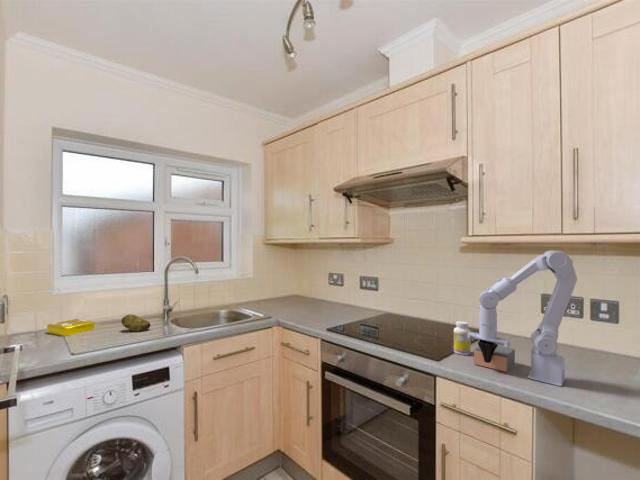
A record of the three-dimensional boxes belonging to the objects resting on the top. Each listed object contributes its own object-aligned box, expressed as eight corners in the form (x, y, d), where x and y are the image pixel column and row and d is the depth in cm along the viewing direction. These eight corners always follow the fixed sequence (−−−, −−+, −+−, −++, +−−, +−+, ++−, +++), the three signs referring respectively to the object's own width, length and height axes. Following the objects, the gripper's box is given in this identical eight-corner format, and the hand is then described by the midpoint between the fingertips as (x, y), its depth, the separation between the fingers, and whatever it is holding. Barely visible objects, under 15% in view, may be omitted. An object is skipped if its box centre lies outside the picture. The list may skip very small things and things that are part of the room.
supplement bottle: (456, 349, 143) (456, 319, 143) (472, 352, 139) (472, 322, 139) (451, 353, 138) (451, 322, 138) (468, 356, 134) (468, 325, 134)
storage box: (514, 364, 125) (514, 349, 125) (507, 371, 118) (507, 355, 118) (483, 357, 133) (484, 342, 133) (475, 363, 126) (475, 348, 126)
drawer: (513, 364, 124) (513, 351, 124) (506, 371, 117) (506, 358, 117) (482, 357, 132) (482, 345, 132) (473, 363, 125) (474, 351, 125)
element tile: (96, 329, 170) (96, 320, 170) (64, 337, 156) (64, 327, 156) (77, 326, 175) (77, 317, 175) (45, 333, 161) (45, 323, 162)
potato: (140, 333, 162) (141, 317, 162) (118, 331, 165) (118, 315, 165) (152, 329, 170) (152, 313, 171) (130, 327, 173) (130, 312, 173)
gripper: (514, 327, 116) (514, 365, 116) (474, 319, 128) (474, 354, 128) (504, 330, 112) (504, 370, 112) (464, 321, 124) (464, 357, 124)
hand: (487, 361), depth 120 cm, fingers closed
